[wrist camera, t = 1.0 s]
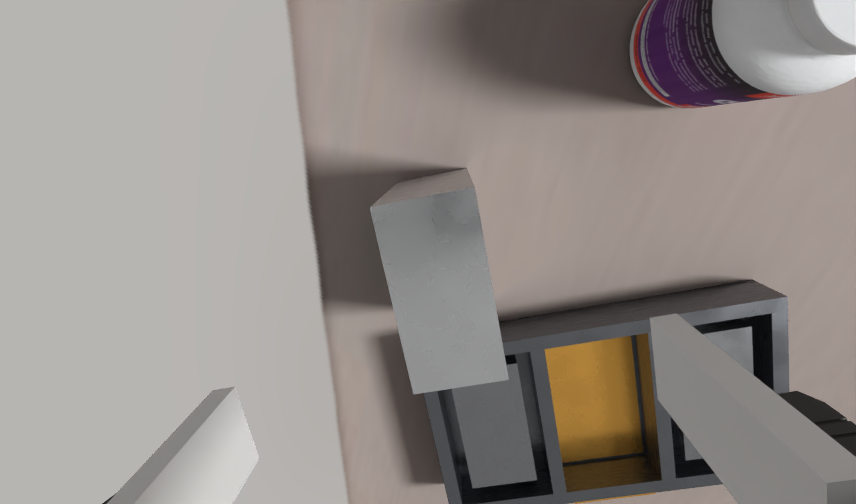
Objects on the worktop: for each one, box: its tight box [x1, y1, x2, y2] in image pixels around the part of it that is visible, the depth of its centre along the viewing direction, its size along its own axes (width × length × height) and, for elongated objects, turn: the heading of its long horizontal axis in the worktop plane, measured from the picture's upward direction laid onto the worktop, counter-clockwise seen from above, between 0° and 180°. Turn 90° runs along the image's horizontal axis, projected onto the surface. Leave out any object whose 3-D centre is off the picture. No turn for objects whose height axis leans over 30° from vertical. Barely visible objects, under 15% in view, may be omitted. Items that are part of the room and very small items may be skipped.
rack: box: [424, 280, 789, 504], centre depth 35 cm, size 14×25×4 cm, turn 102°
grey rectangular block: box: [369, 168, 509, 395], centre depth 28 cm, size 10×5×12 cm, turn 12°
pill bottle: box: [630, 0, 856, 108], centre depth 23 cm, size 8×8×14 cm
